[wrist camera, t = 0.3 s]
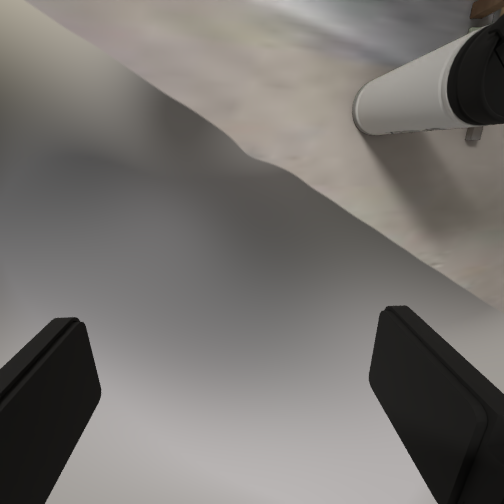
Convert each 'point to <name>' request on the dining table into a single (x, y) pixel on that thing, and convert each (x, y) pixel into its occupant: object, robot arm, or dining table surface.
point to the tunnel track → (485, 5)
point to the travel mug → (439, 88)
